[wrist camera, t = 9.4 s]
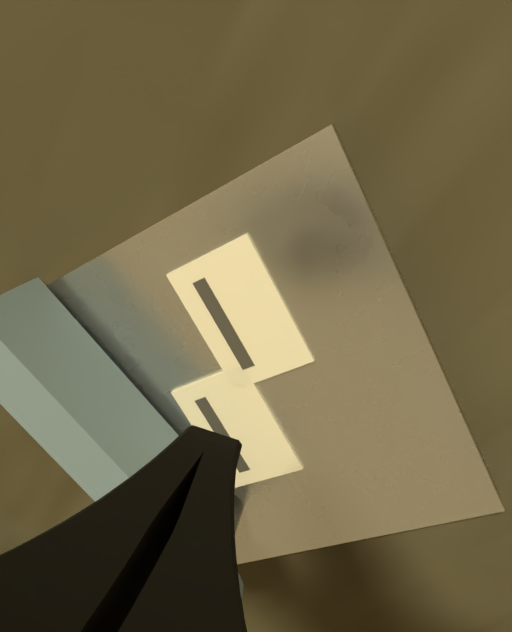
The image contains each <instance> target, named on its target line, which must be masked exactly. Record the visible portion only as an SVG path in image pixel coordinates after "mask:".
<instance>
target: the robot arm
mask: <svg viewBox="0 0 512 632" xmlns="http://www.w3.org/2000/svg"><path fill="white" fill-rule="evenodd" d="M241 448H242V444H241V442H240V441H239V440H237V439H234V438H231V437H228V436H225V435H222V434H219V433H216V432H213V431H210V430H206V429H203V428H200V427H197V426H194V425H191V426H189V427H187V428H186V429H185V430H184V431H183V432H182V433H181V434H180V435H179V436H178V437H177V438H176V439H175V440H174V441H173V442H172V443H171V444H170V445H168V446H167V447H166V448H165V449H164V450H163V451H162V452H160V453H159V454H158V455H157V456H156V457H155V458H153V459H152V460H151V461H150V462H148V463H147V464H146V465H145V466H143V467H142V468H141V469H140V470H138V471H137V472H136V473H135V474H133V475H132V476H131V477H129V478H128V479H127V480H125V481H124V482H123V483H121V484H120V485H118V486H117V487H116V488H114V489H113V490H111V491H110V492H108V493H107V494H106V495H104V496H103V497H101V498H100V499H99V500H97V501H95V502H94V503H92V504H91V505H89V506H88V507H86V508H85V509H83V510H82V511H80V512H78V513H77V514H75V515H73V516H72V517H70V518H68V519H67V520H65V521H63V522H62V523H60V524H58V525H57V526H55V527H53V528H51V529H49V530H47V531H46V532H44V533H42V534H40V535H38V536H36V537H35V538H33V539H31V540H29V541H27V542H25V543H23V544H21V545H19V546H17V547H16V548H14V549H11V550H9V551H7V552H5V553H3V554H1V555H0V632H247V629H246V624H245V619H244V613H243V606H242V600H241V593H240V585H239V577H238V569H237V558H236V545H235V527H234V492H235V478H236V468H237V464H238V460H239V456H240V452H241Z"/></svg>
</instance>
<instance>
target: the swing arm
mask: <svg viewBox="0 0 512 632" xmlns="http://www.w3.org/2000/svg"><path fill="white" fill-rule="evenodd" d="M0 404H1V405H2V406H3V407H4V408H5V409H6V410H7V411H8V412H9V413H10V414H11V415H12V416H13V417H14V418H15V419H16V420H17V422H18V423H19V424H20V425H21V426H22V427H23V428H24V429H25V430H26V431H27V432H28V433H29V434H30V435H31V436H32V437H33V438H34V439H35V440H36V441H37V442H38V443H39V444H40V445H41V446H42V447H43V448H44V449H45V450H46V451H47V452H48V453H49V455H50V456H51V457H52V458H53V459H54V460H55V461H56V462H57V463H58V464H59V465H60V466H61V467H62V468H63V469H64V470H65V471H66V472H67V473H68V474H69V475H70V476H71V477H72V478H73V479H74V480H75V481H76V482H77V483H78V484H79V485H80V486H81V488H82V489H83V490H84V491H85V492H86V493H87V494H88V495H89V496H90V497H91V498H92V499H93V500H94V501H97V500H99V499H100V498H101V497H103V496H104V495H106V494H107V493H108V492H110V491H111V490H113V489H114V488H116V487H117V486H118V485H120V484H121V483H123V482H124V481H125V480H127V479H128V478H129V477H131V476H132V475H133V474H135V473H136V472H137V471H138V470H140V469H141V468H142V467H143V466H145V465H146V464H147V463H148V462H150V461H151V460H152V459H153V458H155V457H156V456H157V455H158V454H159V453H160V452H162V451H163V450H164V449H165V448H166V447H167V446H168V445H170V444H171V443H172V442H173V441H174V440H175V439H176V438H177V437H178V436H179V435H178V434H177V433H176V432H175V431H174V430H173V429H172V427H171V426H170V425H169V424H168V423H167V422H166V421H165V420H164V418H163V417H162V416H161V415H160V414H159V413H158V412H157V411H156V409H155V408H154V407H153V406H152V405H151V404H150V403H149V402H148V400H147V399H146V398H145V397H144V396H143V395H142V394H141V392H140V391H139V390H138V389H137V388H136V387H135V386H134V385H133V383H132V382H131V381H130V380H129V379H128V378H127V377H126V376H125V374H124V373H123V372H122V371H121V370H120V369H119V368H118V367H117V365H116V364H115V363H114V362H113V361H112V360H111V359H110V358H109V356H108V355H107V354H106V353H105V352H104V351H103V350H102V349H101V347H100V346H99V345H98V344H97V343H96V342H95V341H94V340H93V338H92V337H91V336H90V335H89V334H88V333H87V332H86V331H85V329H84V328H83V327H82V326H81V325H80V324H79V323H78V321H77V320H76V319H75V318H74V317H73V316H72V315H71V314H70V312H69V311H68V310H67V309H66V308H65V307H64V306H63V305H62V303H61V302H60V301H59V300H58V299H57V298H56V297H55V296H54V294H53V293H52V292H51V291H50V290H49V289H48V288H47V287H46V285H45V284H44V283H43V282H42V281H41V280H40V279H39V278H38V277H37V278H35V279H33V280H31V281H28V282H26V283H24V284H22V285H20V286H18V287H16V288H14V289H12V290H10V291H8V292H5V293H3V294H1V295H0ZM238 577H239V585H240V593H241V600H242V596H243V592H244V586H243V581H242V578H241V576H240V574H239V573H238Z"/></svg>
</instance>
